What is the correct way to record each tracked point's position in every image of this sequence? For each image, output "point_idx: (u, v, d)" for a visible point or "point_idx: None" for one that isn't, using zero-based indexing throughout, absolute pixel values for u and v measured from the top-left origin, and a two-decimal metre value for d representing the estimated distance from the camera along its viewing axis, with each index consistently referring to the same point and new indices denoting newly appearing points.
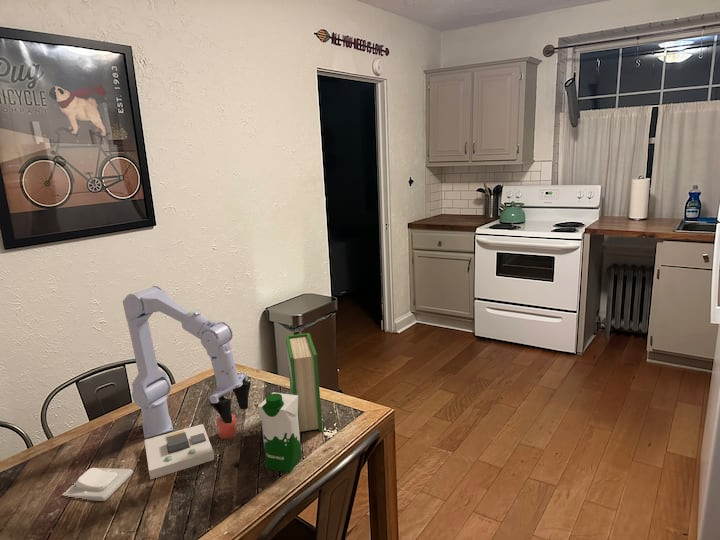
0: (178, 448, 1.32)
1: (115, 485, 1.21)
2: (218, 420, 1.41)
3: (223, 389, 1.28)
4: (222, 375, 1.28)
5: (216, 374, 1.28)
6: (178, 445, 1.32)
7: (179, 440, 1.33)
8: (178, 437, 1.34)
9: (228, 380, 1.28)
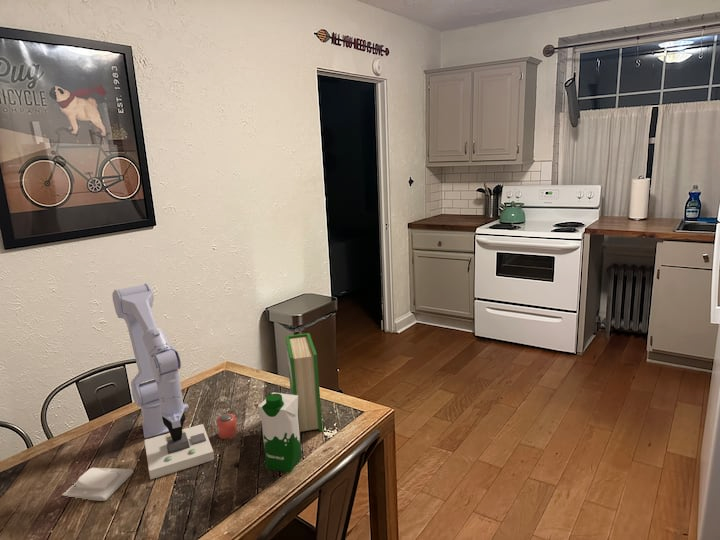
0: (178, 448, 1.32)
1: (115, 485, 1.21)
2: (218, 420, 1.41)
3: (175, 413, 1.29)
4: (175, 399, 1.29)
5: (168, 400, 1.28)
6: (178, 445, 1.32)
7: (179, 440, 1.33)
8: None
9: (180, 404, 1.30)
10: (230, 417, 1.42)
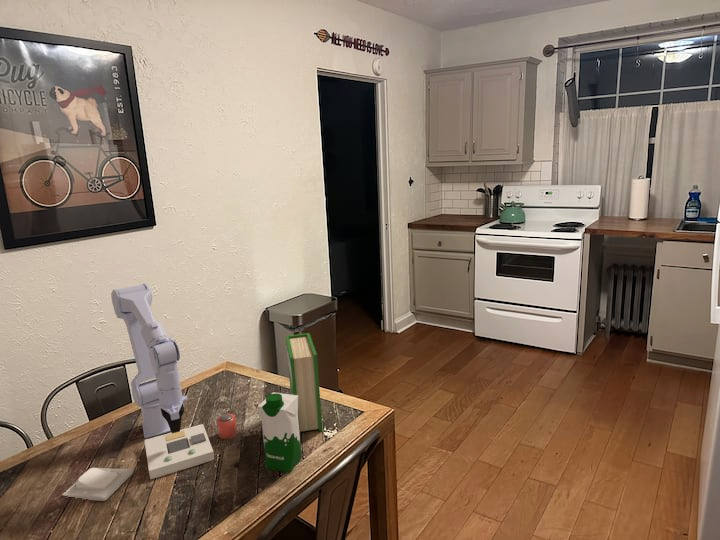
0: None
1: (115, 485, 1.21)
2: (218, 420, 1.41)
3: (174, 405, 1.29)
4: (174, 391, 1.28)
5: (167, 392, 1.27)
6: None
7: (180, 447, 1.34)
8: (179, 444, 1.35)
9: (179, 395, 1.30)
10: (230, 417, 1.42)
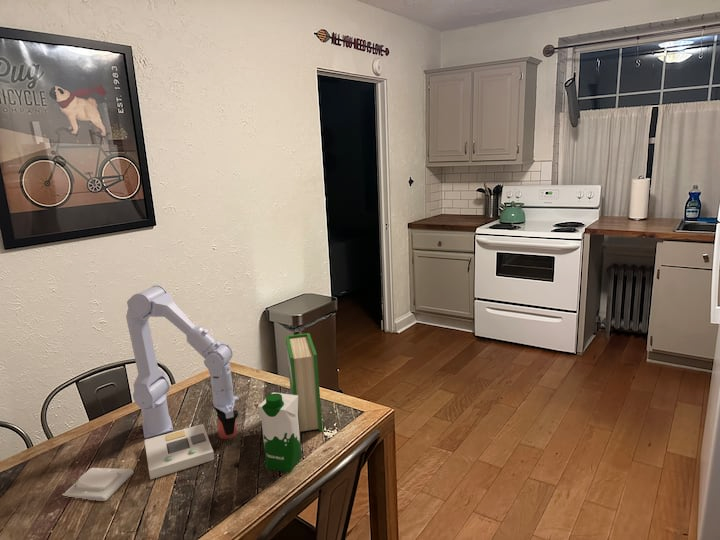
0: None
1: (115, 485, 1.21)
2: (218, 420, 1.41)
3: (227, 405, 1.39)
4: (227, 392, 1.38)
5: (221, 392, 1.37)
6: None
7: (180, 447, 1.34)
8: (179, 444, 1.35)
9: (231, 396, 1.40)
10: None
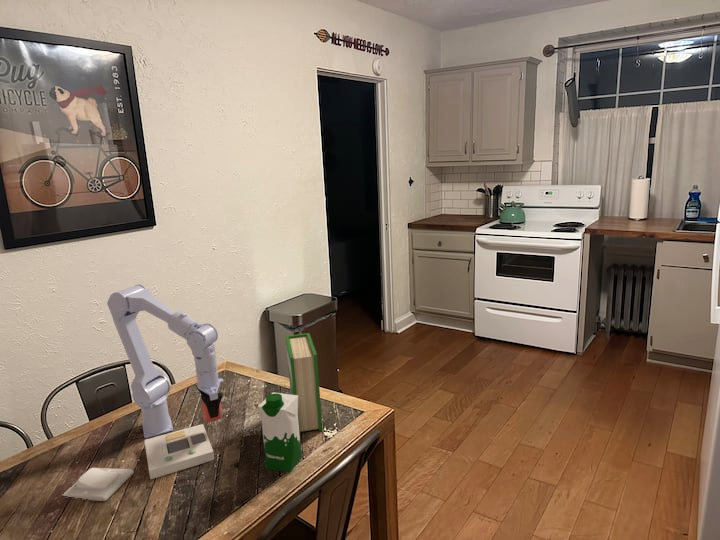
0: None
1: (115, 485, 1.21)
2: (202, 403, 1.38)
3: (212, 387, 1.35)
4: (212, 373, 1.34)
5: (205, 374, 1.34)
6: None
7: (180, 447, 1.34)
8: (179, 444, 1.35)
9: (216, 377, 1.36)
10: None
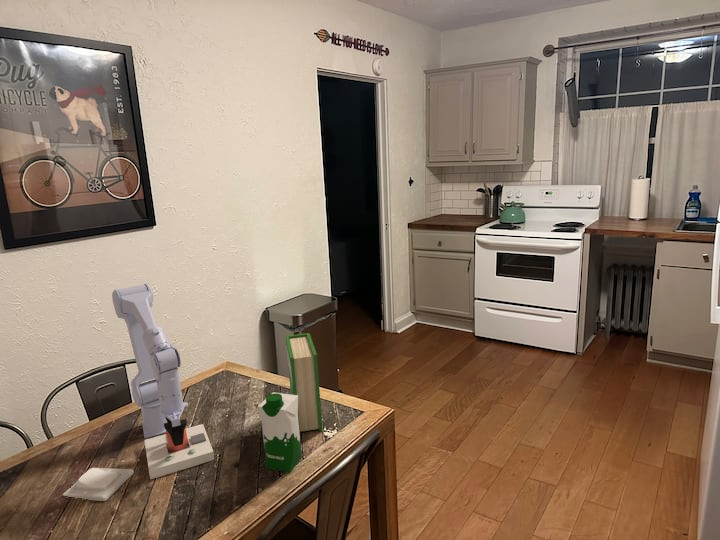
0: None
1: (116, 485, 1.21)
2: (167, 432, 1.32)
3: (175, 412, 1.29)
4: (175, 398, 1.29)
5: (168, 398, 1.28)
6: None
7: None
8: None
9: (180, 402, 1.30)
10: None
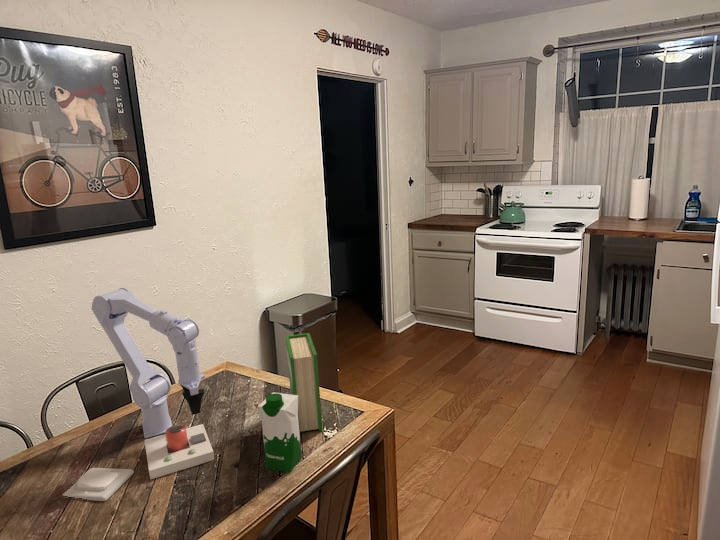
0: None
1: (116, 485, 1.21)
2: (167, 431, 1.32)
3: (193, 382, 1.36)
4: (193, 368, 1.36)
5: (186, 369, 1.35)
6: None
7: None
8: None
9: (197, 373, 1.37)
10: (180, 428, 1.33)
